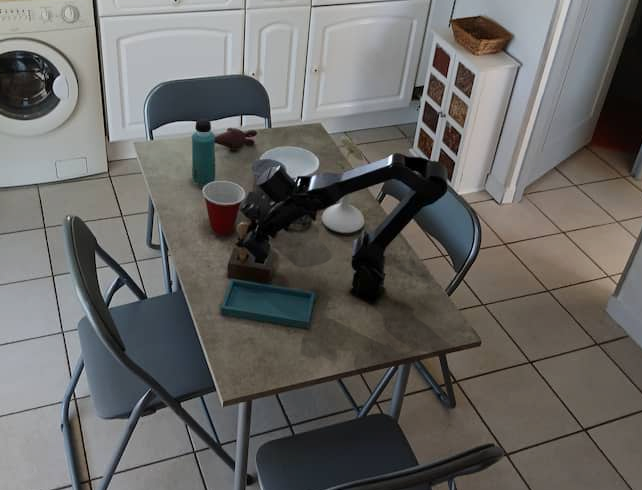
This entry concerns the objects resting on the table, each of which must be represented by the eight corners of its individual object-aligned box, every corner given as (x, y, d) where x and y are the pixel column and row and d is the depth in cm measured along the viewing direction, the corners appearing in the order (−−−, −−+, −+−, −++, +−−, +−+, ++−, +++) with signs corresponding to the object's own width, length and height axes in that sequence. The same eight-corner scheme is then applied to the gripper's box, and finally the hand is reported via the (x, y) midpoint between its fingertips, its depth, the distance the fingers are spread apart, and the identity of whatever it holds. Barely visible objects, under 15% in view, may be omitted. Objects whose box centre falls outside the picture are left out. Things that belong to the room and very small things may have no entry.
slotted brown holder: (273, 268, 182) (274, 254, 180) (269, 284, 177) (270, 269, 175) (233, 261, 183) (233, 247, 180) (227, 277, 178) (227, 263, 175)
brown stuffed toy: (213, 140, 216) (261, 138, 222) (207, 123, 220) (254, 121, 226) (209, 157, 221) (256, 154, 227) (203, 139, 225) (250, 137, 231)
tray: (314, 298, 175) (315, 292, 173) (308, 328, 166) (309, 322, 165) (230, 285, 176) (231, 278, 175) (220, 314, 168) (220, 307, 167)
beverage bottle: (220, 182, 210) (221, 120, 198) (205, 193, 205) (205, 130, 194) (202, 174, 213) (201, 112, 201) (186, 184, 208) (185, 122, 196)
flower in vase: (369, 234, 197) (383, 154, 182) (328, 239, 193) (339, 158, 179) (353, 206, 207) (364, 127, 192) (314, 210, 203) (322, 131, 189)
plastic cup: (251, 234, 192) (253, 197, 185) (213, 246, 187) (213, 207, 180) (232, 212, 199) (233, 175, 192) (195, 222, 194) (195, 184, 187)
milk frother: (245, 205, 202) (247, 159, 194) (301, 200, 207) (305, 155, 198) (256, 237, 191) (259, 190, 183) (315, 231, 196) (320, 185, 187)
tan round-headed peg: (250, 267, 180) (252, 222, 172) (248, 271, 179) (250, 226, 171) (236, 265, 180) (237, 220, 172) (234, 269, 179) (236, 224, 171)
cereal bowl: (299, 161, 223) (300, 140, 219) (328, 189, 212) (330, 169, 208) (248, 173, 215) (249, 152, 211) (276, 204, 204) (277, 183, 200)
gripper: (270, 166, 173) (223, 197, 180) (254, 212, 158) (203, 244, 165) (301, 198, 177) (254, 228, 184) (288, 246, 162) (237, 277, 169)
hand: (237, 243), depth 175 cm, fingers closed on tan round-headed peg, 1 cm apart
